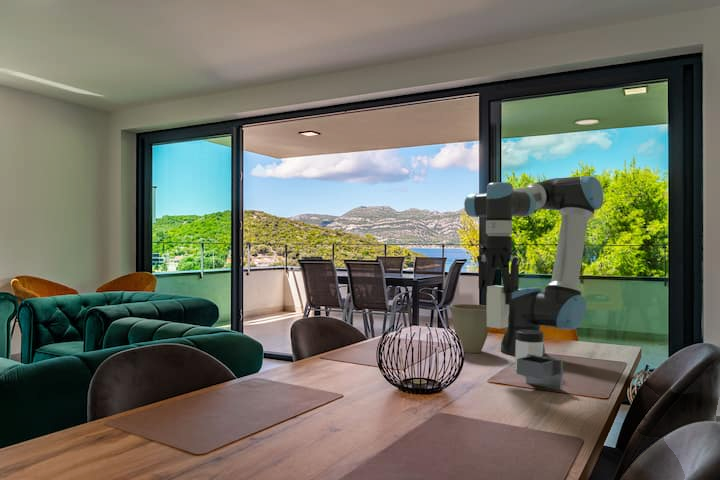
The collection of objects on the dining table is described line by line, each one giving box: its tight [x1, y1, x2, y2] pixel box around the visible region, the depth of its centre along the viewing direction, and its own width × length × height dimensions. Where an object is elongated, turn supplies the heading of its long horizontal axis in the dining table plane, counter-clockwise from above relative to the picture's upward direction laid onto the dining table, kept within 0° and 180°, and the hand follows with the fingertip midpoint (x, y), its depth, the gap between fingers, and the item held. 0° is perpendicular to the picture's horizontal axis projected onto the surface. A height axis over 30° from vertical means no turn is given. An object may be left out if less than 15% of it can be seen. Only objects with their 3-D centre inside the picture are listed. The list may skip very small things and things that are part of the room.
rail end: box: [486, 284, 508, 330], centre depth 161 cm, size 4×4×12 cm
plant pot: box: [450, 303, 491, 354], centre depth 196 cm, size 15×15×16 cm
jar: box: [514, 329, 545, 372], centre depth 169 cm, size 9×8×12 cm
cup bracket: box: [516, 354, 564, 391], centre depth 148 cm, size 9×10×8 cm
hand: (497, 314), depth 162 cm, fingers closed on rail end, 4 cm apart
